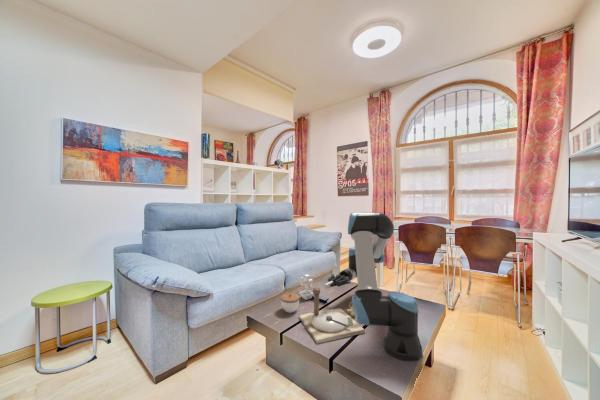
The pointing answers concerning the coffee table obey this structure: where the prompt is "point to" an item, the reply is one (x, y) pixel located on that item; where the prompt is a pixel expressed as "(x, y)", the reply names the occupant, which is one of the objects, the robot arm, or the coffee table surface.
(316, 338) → the beige flat board
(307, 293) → the figurine
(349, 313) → the cat figure
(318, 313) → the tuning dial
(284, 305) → the lidded jar
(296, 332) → the coffee table surface
